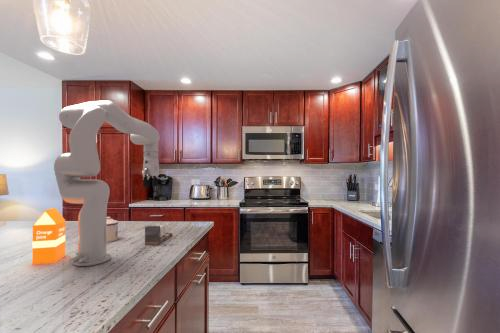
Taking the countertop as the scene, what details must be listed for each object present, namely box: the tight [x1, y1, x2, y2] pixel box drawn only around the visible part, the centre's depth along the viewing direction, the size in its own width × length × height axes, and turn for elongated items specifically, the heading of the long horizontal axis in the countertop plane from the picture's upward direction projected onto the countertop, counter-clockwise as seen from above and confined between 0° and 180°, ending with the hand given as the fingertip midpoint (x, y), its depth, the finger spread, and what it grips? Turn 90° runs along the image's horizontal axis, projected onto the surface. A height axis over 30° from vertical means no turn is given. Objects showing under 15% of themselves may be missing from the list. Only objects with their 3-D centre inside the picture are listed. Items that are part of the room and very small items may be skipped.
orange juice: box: [31, 207, 67, 265], centre depth 103 cm, size 8×9×20 cm
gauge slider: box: [155, 223, 166, 238], centre depth 130 cm, size 6×6×6 cm
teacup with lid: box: [106, 216, 119, 243], centre depth 133 cm, size 12×9×12 cm
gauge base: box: [144, 225, 173, 246], centre depth 131 cm, size 18×6×8 cm, turn 175°
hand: (150, 186), depth 141 cm, fingers open, 9 cm apart
